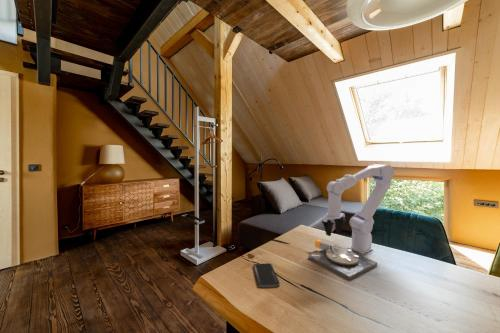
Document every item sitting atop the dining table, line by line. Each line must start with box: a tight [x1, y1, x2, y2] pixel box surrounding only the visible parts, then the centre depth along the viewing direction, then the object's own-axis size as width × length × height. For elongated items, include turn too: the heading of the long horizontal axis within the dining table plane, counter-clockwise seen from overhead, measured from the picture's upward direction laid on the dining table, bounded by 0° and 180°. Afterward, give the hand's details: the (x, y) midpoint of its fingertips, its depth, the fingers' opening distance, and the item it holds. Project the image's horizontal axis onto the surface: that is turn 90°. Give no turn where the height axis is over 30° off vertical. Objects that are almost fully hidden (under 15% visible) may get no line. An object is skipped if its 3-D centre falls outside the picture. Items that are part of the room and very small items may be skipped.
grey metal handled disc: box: [314, 238, 359, 266], centre depth 97 cm, size 13×20×3 cm, turn 33°
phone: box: [252, 263, 280, 289], centre depth 83 cm, size 8×1×15 cm
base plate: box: [308, 244, 378, 281], centre depth 94 cm, size 20×20×2 cm
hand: (333, 233), depth 104 cm, fingers open, 7 cm apart
